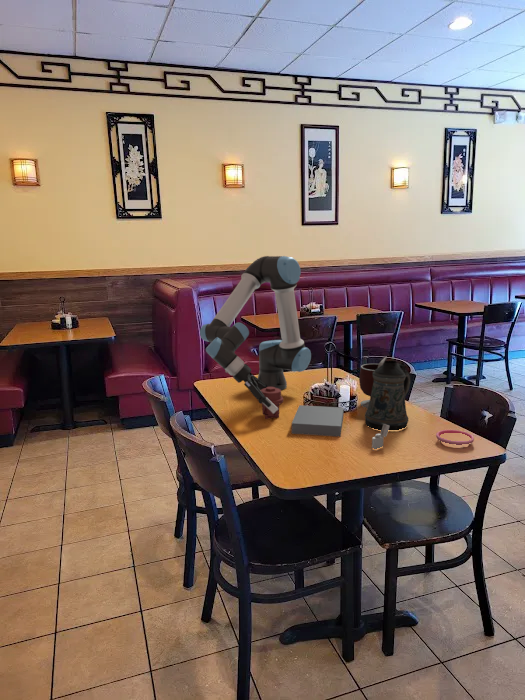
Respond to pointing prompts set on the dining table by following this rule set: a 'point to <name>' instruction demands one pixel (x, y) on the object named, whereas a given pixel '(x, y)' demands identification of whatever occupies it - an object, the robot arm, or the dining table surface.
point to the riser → (318, 421)
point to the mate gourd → (368, 379)
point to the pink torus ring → (454, 441)
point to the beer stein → (388, 397)
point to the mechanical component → (275, 398)
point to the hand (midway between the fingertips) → (276, 405)
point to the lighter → (380, 437)
